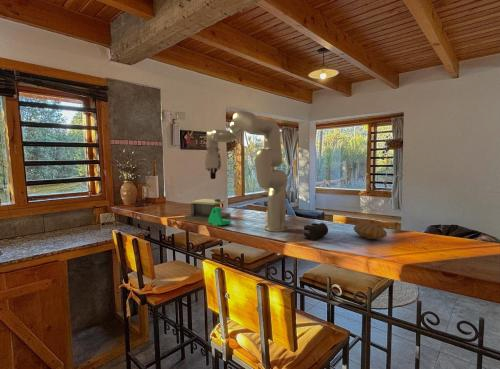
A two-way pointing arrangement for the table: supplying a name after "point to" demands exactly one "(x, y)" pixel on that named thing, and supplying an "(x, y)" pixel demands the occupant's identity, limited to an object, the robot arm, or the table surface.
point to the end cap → (315, 231)
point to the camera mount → (217, 217)
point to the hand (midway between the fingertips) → (213, 178)
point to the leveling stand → (202, 212)
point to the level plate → (208, 201)
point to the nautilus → (369, 230)
